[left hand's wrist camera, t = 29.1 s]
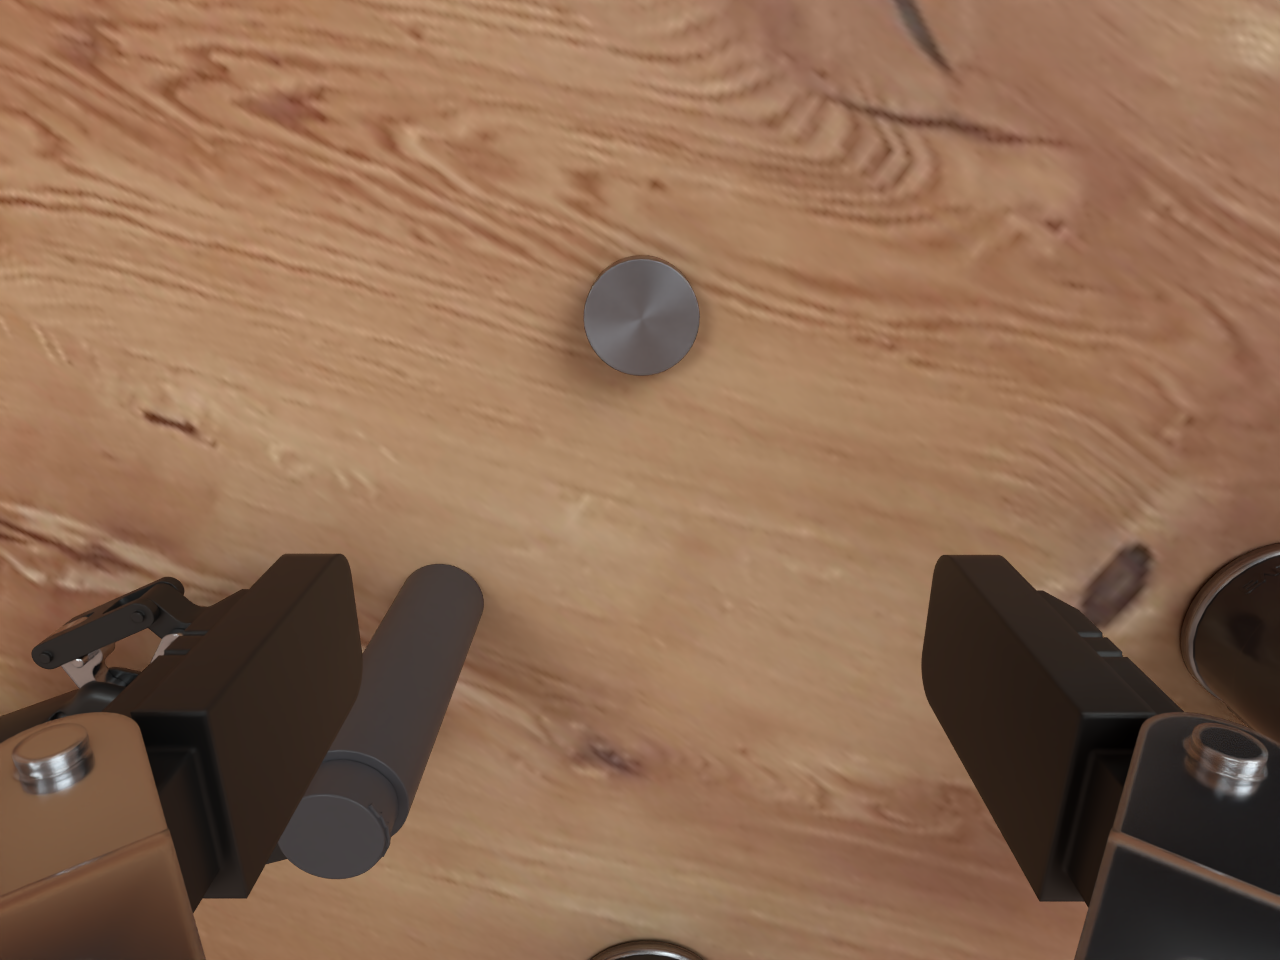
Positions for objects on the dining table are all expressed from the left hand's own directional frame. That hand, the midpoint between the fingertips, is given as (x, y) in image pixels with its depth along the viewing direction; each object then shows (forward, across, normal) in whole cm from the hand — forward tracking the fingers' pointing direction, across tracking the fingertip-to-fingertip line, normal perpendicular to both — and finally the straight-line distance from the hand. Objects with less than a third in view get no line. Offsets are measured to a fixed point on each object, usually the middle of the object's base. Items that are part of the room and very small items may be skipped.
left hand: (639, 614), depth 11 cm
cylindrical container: (+27, +10, +15) cm, 33 cm away
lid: (+26, 0, 0) cm, 26 cm away
